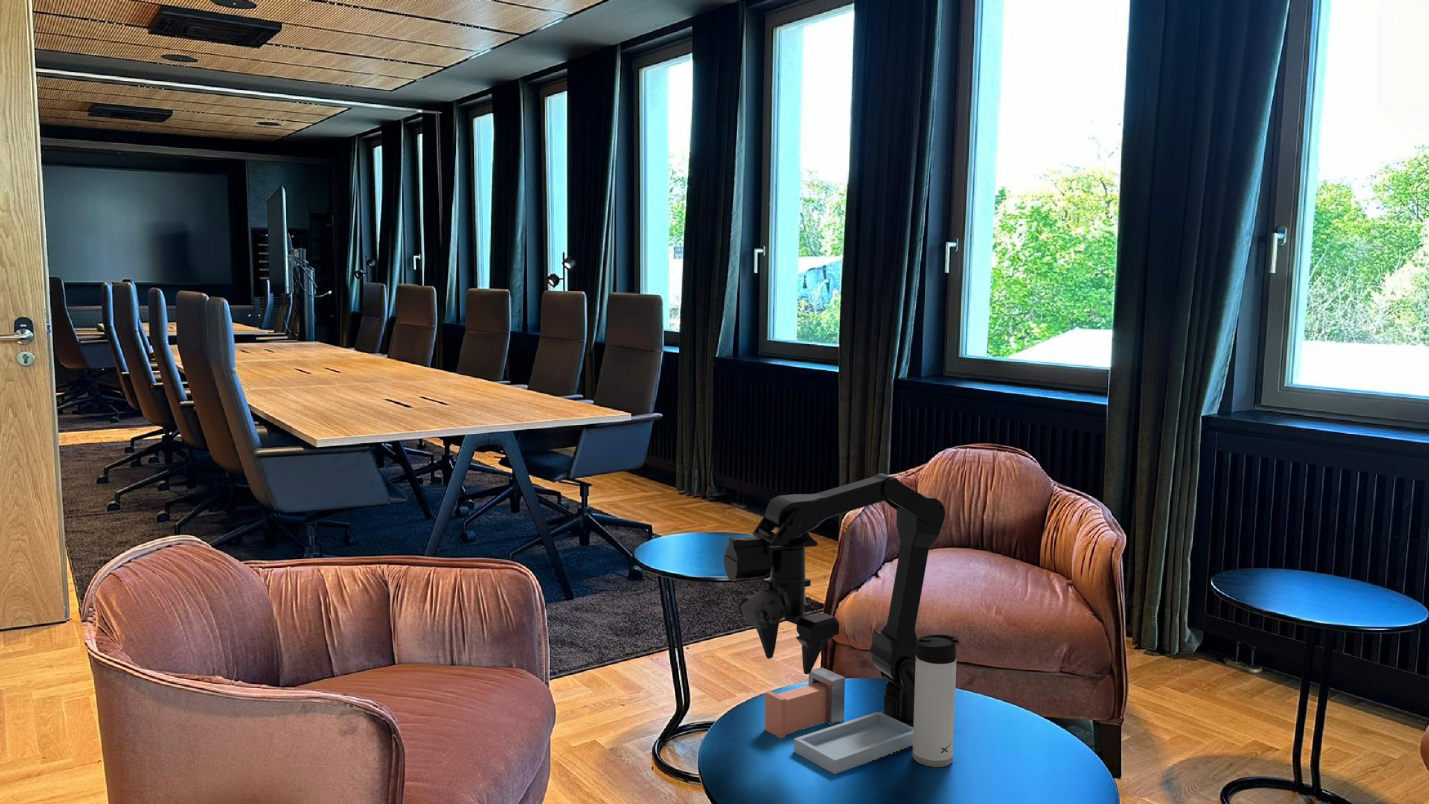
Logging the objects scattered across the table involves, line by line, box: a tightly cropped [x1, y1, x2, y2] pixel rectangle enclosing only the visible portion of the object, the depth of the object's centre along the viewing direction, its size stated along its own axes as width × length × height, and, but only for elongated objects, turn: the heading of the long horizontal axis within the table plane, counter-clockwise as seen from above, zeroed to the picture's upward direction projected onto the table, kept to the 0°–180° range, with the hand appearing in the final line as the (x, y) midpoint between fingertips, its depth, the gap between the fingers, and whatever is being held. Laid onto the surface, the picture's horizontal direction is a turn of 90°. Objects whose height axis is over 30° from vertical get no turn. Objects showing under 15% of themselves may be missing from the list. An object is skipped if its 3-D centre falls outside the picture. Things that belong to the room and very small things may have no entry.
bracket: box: [807, 667, 846, 726], centre depth 178 cm, size 3×6×8 cm, turn 36°
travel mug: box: [912, 633, 960, 768], centre depth 161 cm, size 6×7×20 cm
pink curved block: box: [764, 682, 828, 739], centre depth 175 cm, size 14×4×7 cm, turn 126°
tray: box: [793, 711, 914, 775], centre depth 166 cm, size 19×10×2 cm, turn 126°
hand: (787, 665), depth 169 cm, fingers open, 9 cm apart
